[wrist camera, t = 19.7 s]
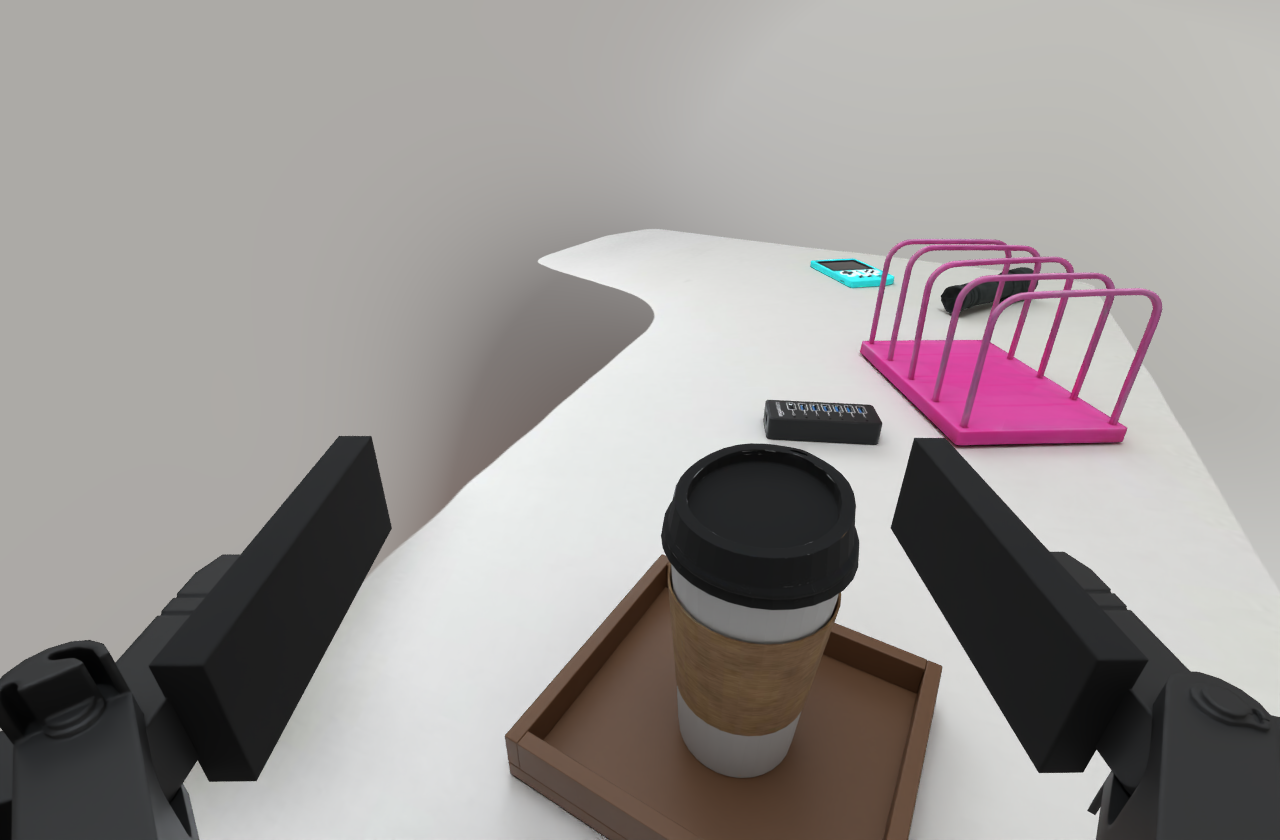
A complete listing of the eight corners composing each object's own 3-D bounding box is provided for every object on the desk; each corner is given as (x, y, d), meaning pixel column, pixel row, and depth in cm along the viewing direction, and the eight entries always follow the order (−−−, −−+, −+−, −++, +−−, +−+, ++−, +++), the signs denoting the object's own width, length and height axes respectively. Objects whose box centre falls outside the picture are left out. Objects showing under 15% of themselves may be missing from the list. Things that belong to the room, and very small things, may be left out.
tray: (509, 773, 31) (504, 735, 30) (660, 587, 43) (661, 553, 41) (865, 1011, 23) (881, 975, 22) (930, 702, 35) (942, 665, 34)
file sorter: (954, 448, 60) (1000, 291, 53) (858, 353, 82) (881, 233, 75) (1123, 444, 61) (1191, 289, 54) (983, 351, 83) (1017, 232, 76)
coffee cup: (840, 709, 33) (897, 476, 26) (773, 844, 27) (823, 589, 20) (706, 637, 38) (724, 421, 31) (622, 740, 32) (621, 500, 25)
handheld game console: (849, 287, 110) (850, 280, 110) (808, 266, 124) (809, 259, 123) (898, 284, 112) (900, 277, 112) (853, 263, 126) (854, 257, 125)
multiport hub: (879, 444, 61) (883, 424, 60) (766, 438, 62) (769, 418, 60) (868, 423, 65) (872, 404, 63) (763, 418, 65) (765, 399, 64)
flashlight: (1034, 299, 105) (1043, 270, 103) (963, 319, 95) (971, 287, 93) (1005, 292, 109) (1014, 263, 107) (934, 310, 99) (942, 280, 97)
